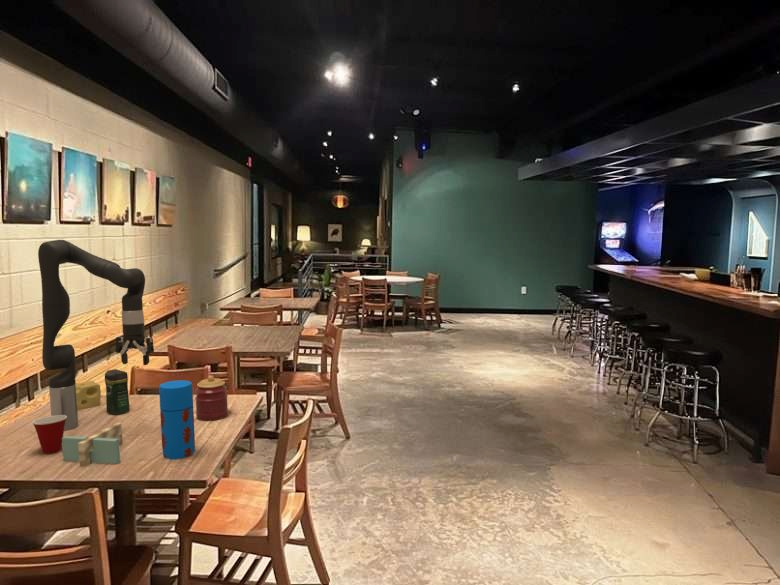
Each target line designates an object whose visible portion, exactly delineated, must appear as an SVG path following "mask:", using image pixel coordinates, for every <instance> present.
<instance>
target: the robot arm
mask: <svg viewBox="0 0 780 585" xmlns="http://www.w3.org/2000/svg"><path fill="white" fill-rule="evenodd" d="M37 252H38V254H37V255H38V257H37V258H38V264H39V270H40V272H39V273H40V280H41V310H42V311H41V312H42V324H43V325H42V327H43V328H42V329H43V333H42V334H43V336H42V353H41V355H42V356H41V357H42V365H43V368H44V369H45V370H46V371H54V370H60V369H63V370H62V371H61V372H60V373H58V374H57V375H55V376H53V377H51V378H50V379H48V390H49V392H48V393H49V403H50V405H49V406H50V416H56V415H65V416H67V418H66V421H65V426H64V431H68V430H72V429H74V428H77V427H78V426H79V413H78V412H79V410H77V396H76V384H77V383H76V352H75V351H76V350H75V349H74V346H73V345H72V344H69V343H68V344H60V345H55V341H56V339H57V336H58V334H59V332H60V330H62V328H63V327H64V325H65V324H66V322H67V320H68V319H69V317H70V313H71V302H70V300H71V299H70V295H69V293H68V292H67V290H66V288H65V287H64V285H63V284H62V282H61V279H60V265H63V264H68V263H69V264H74V265H79V266H80V267H83V268H84V269H85V270H86V271H87V272H88V273H90V274H91V275H93V276H96V277H98V278H101V279H103V280H106V281H107V280H108V281H109V283H112V284H114V285H115V286H117V287H119V288H123V289H127V291H126V293H125V294H124V295H122V297H121V309H122V311H121V312H122V314H121V324H122V335H123V336H122V335H121V336H120V335H119V336H117V337H115V353H117V354H120V357H121V358H120V360H121V361H120V362H121V363H122V365H126V364H128V362H129V360H128V352H129V351H130V349H131V350H134V349H135V350H138V351H139V352H141V354H142V364H143V365H144V366H146V365H149V363H150V354H153V353H155V347H154V339H153V337H152V336H149V337H146V336H145V333H146V332H145V331H146V328H145V315H144V314H145V313H144V309H143V307H144V305H143V304H144V303H143V296H144V292H145V285H146V276H145V274H144V272H143V270H142V269H140V268H137V267H136V268H135V267H134V268H122V267H121V265H120V264H119V263H116V262H114V261H111V260H108V259H106V258H103V257H99V256H98V255H95V254H92V253H90V252H88V251H86V250H84V249H82V248H81V247H79V246H77V245H75V244H74V243H72V242H70V241H67V240H66V239H65V240H64V239H56V240H55V239H54V240H48V241H44V242H42V243H40V245H39V247H38V251H37Z"/></svg>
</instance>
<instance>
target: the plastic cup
mask: <svg viewBox="0 0 780 585" xmlns="http://www.w3.org/2000/svg"><path fill="white" fill-rule="evenodd" d="M66 418H67V416H65V415H56V416H51V415H50V416H45V417H41V418H36V419H34V420H33V421H31V423H32V425H33V427H34V429H35V432H36V434H37V439H38V442H39V444H40V447H41V452H42V453H43V454H45V455H46V454H55V453H58V452H60V451H61V450H62V449H63V447H62V438H63V437H64V431H65V430H64V426H65V421H66Z"/></svg>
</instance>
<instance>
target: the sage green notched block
mask: <svg viewBox="0 0 780 585" xmlns="http://www.w3.org/2000/svg"><path fill="white" fill-rule="evenodd" d="M87 438H89V437H88V436H76V435H75V436H73V435H65V436H63V438H62V458H63V461H67V462H79V447H78V443H79V442H81V441H83V440H85V439H87ZM120 451H121V450H120V446H119V439H111V438H95V439H93V450H92V451H91V452H89V458H90V463H96V464H98V463H99V464H109V465H110V464H112V465H118V464H119V463H120V462H121V452H120Z"/></svg>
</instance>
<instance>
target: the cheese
mask: <svg viewBox="0 0 780 585" xmlns="http://www.w3.org/2000/svg"><path fill="white" fill-rule="evenodd" d="M76 396H77V410H78V411H81V410H84V409H90V408H94V407H100V406H101V397H102V390H101V384H99V383H97V382H95V381H93V380H88V381H83V382H79V383H76Z"/></svg>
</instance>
